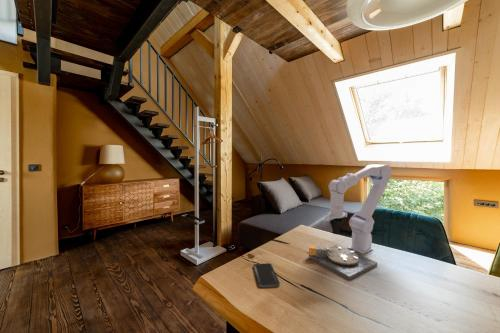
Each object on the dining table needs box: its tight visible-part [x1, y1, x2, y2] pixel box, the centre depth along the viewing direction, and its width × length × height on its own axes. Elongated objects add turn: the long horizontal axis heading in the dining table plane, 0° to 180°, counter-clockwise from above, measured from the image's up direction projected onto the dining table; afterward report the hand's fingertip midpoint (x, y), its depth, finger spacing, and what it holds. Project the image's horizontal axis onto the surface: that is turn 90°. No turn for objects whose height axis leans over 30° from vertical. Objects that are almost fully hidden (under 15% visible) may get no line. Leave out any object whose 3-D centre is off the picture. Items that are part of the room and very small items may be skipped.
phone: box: [252, 262, 281, 289], centre depth 83 cm, size 8×1×15 cm
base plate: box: [308, 244, 378, 281], centre depth 94 cm, size 20×20×2 cm
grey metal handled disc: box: [308, 245, 359, 266], centre depth 95 cm, size 13×20×3 cm, turn 77°
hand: (335, 233), depth 102 cm, fingers closed
